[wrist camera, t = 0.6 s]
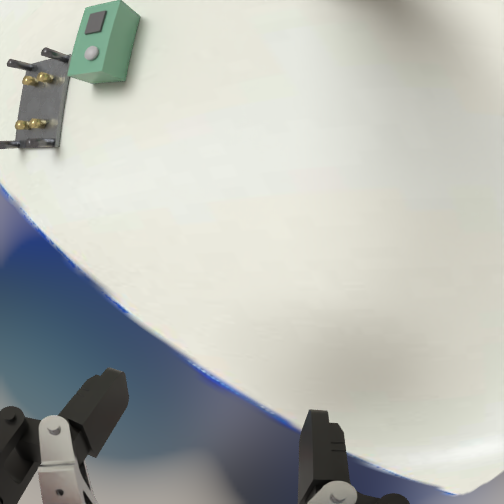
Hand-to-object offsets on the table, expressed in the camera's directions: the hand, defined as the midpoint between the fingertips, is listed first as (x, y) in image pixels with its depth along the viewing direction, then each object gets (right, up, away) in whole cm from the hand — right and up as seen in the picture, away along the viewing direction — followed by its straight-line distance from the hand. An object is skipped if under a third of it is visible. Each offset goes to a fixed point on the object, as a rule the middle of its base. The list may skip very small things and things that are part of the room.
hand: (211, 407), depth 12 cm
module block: (-17, +34, +20) cm, 43 cm away
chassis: (-30, +29, +23) cm, 48 cm away
